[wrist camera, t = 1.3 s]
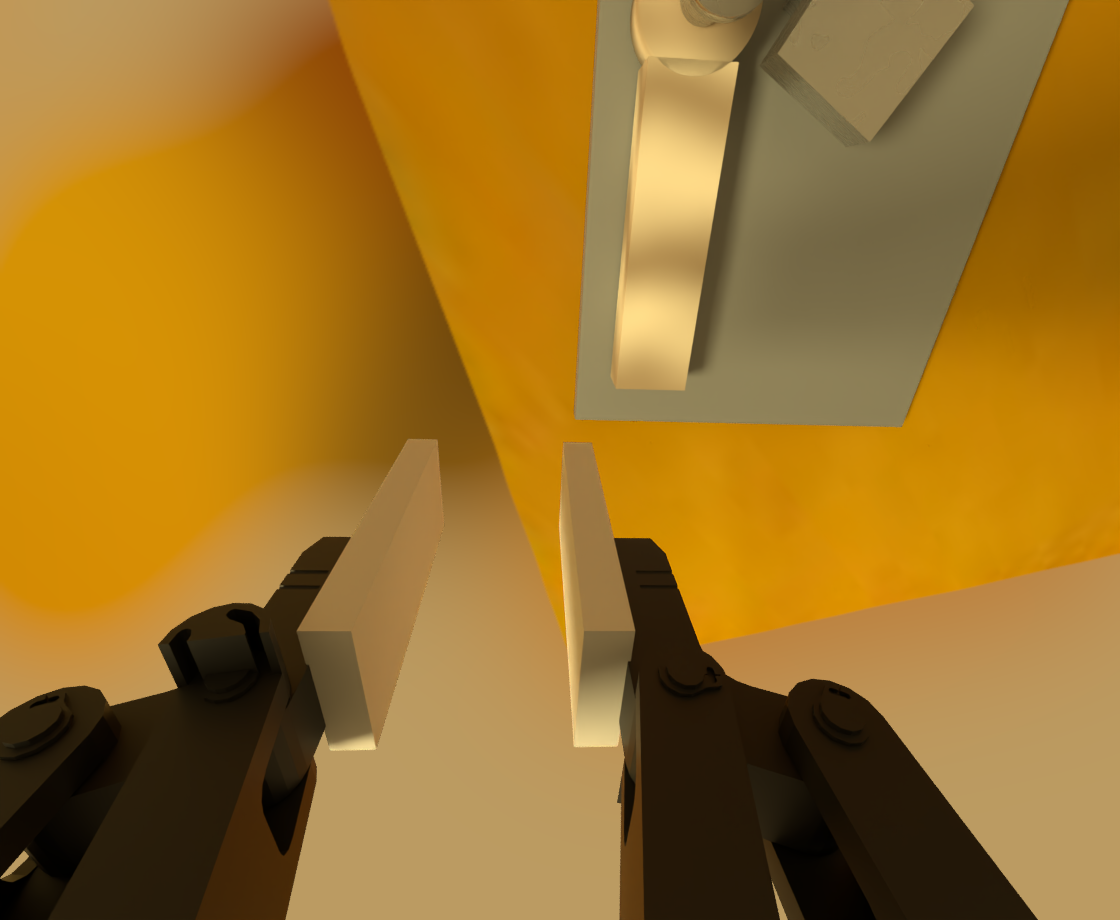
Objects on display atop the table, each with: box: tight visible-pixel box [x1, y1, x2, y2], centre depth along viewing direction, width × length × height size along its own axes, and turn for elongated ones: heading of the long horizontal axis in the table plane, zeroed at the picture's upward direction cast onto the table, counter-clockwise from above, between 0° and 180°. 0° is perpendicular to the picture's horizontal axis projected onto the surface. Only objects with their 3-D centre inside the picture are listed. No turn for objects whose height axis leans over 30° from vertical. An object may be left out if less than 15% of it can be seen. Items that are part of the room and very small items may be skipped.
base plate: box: [574, 0, 1069, 427], centre depth 27 cm, size 22×25×1 cm
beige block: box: [680, 0, 974, 147], centre depth 20 cm, size 11×6×8 cm, turn 58°
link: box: [611, 0, 763, 391], centre depth 24 cm, size 20×5×2 cm, turn 178°
